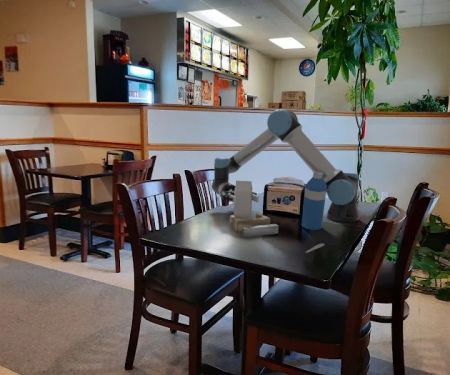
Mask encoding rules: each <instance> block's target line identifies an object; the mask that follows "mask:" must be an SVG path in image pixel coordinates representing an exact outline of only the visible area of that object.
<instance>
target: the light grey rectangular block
mask: <svg viewBox="0 0 450 375" xmlns="http://www.w3.org/2000/svg"><path fill="white" fill-rule="evenodd" d="M252 192H253V185H252V181H251V180H235V190H234V196H235V197H237V204H235V203H233V215H235V216H236V217H238V218H239V219H241V220H243V219H252V213H253V212H252V208H253V207H252V206H253V205H252V204H253V200H252Z"/></svg>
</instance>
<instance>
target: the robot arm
mask: <svg viewBox="0 0 450 375" xmlns="http://www.w3.org/2000/svg"><path fill="white" fill-rule="evenodd" d="M266 124H267V128H266V130H264V131H262V133H260V134H259V135H258V136H256V137H255V138H254V139H253V140H251V141H250V142H249V143H248V144H246V145H245V146H243V147H242V148H241V149H239V150H238V151H237V152H236V153H234V155H232V156H231V157H230V158H228V157H226V156H224V157H223V156H219V157H215V159H214V164H213V165H214V176H213V177H214V179H213V182H212V183H211V189H212V190H213V192H214V193H215V194H217V195H219V197H220V198H221V199H222V201H226V202H227V203H231V202H232V203H233V204H234V203H235V204H237V197H235V196H234V190H235V185H236V184H235V185H234V184H232V183H230V181H229V180H230V176H229V175H230V174H233V173H236V172H238V171H239V170H240V169H241V167H243V166H244V165H245V164H247V163H248V162H250V161H251V160H252V159H253V158H254V157H256V156H258V154H259V155H260V153H262V152H263V151H264V150H266V149H267V148H268V147H269V146H271V145H273V143H275V142H276V141H278V140H280V141H281V142H282V143H285V144H288V145H289V146H290V148H291V149H292V151H294V152H295V153H296V155H297V156H299V158H300V159H301V160H302V161H303V163H305V165H306V166H307V167H308V168H309V169H310V170H311V171H312V173H314V172H321V173H323V175H322V178H323V180H324V181H325V183H326V184H327V190H326V196H327V197H328V199H329V200H330V201H331V203H330V206H329V207H328V210H327V213H326V218H327V219H328V220H330V221H331V220H332V221H335V222H339V223H340V222H343V223H355V222H358V221H359V218H360V217H359V216H360V215H359V211H358V207H357V198H358V185H359V175H358V173H352V172H344V171H343V170H342V169H337V168H336V167H334V165H333V164H332V163H331V162H330V161H329V160H328V159H327V157H326V156H325V155H324V154H323V153H322V152H321V150H319V148H317V147H318V146H316V145H315V144H314V143H313V141H312V140H311V139H310V138H309V137H308V136H307V135H306V134H305V132H303V131H302V130H303V129H302V128H303V125H302V124H301V123H300V122H299V120H298V117H297V114H296V113H295V112H293V111H291V110H289V109H284V108H280V109H275V110H274V111H272V112H270V114H269V115H268V118H267V121H266ZM259 198H260V196H259V195H258V193H257V192H254V191H252V202H255V203H259Z"/></svg>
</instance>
